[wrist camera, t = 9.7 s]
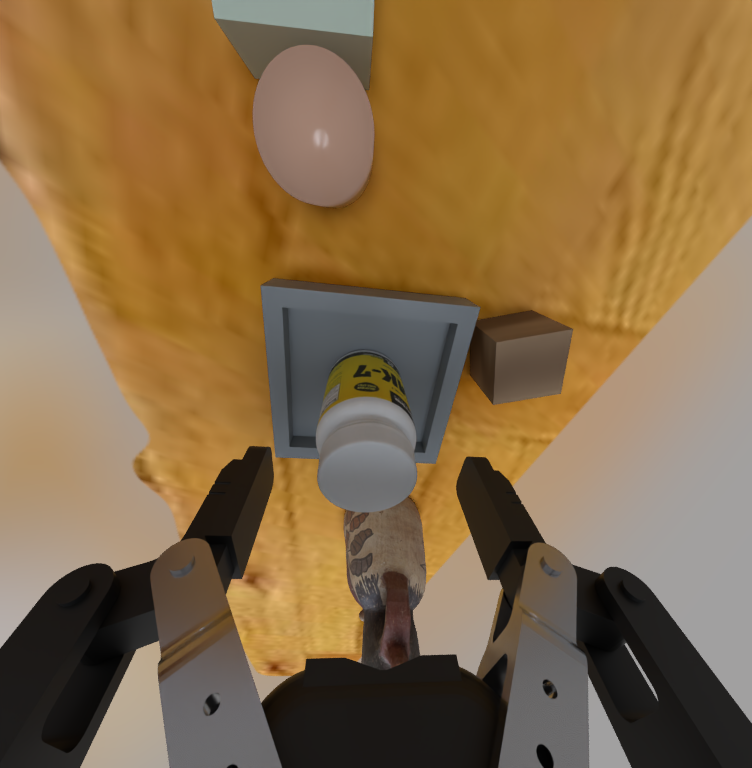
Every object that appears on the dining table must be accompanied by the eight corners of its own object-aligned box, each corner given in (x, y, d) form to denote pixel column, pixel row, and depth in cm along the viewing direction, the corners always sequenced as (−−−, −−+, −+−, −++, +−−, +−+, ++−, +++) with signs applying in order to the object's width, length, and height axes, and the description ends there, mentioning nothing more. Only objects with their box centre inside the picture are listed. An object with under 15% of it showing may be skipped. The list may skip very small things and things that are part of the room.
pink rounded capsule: (273, 129, 13) (226, 86, 9) (351, 84, 12) (343, 13, 8) (314, 221, 15) (293, 223, 11) (384, 187, 14) (391, 175, 10)
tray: (273, 278, 16) (260, 285, 14) (465, 298, 17) (480, 307, 15) (283, 435, 22) (275, 457, 19) (428, 442, 23) (435, 463, 21)
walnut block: (469, 320, 18) (496, 342, 15) (531, 310, 18) (573, 329, 14) (469, 374, 20) (493, 404, 16) (525, 365, 20) (560, 393, 16)
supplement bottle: (414, 370, 18) (453, 464, 11) (376, 421, 20) (387, 532, 12) (350, 333, 17) (343, 414, 9) (315, 392, 18) (286, 498, 11)
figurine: (338, 531, 28) (325, 713, 17) (353, 483, 25) (350, 670, 14) (404, 539, 29) (431, 713, 19) (428, 494, 26) (476, 673, 15)
